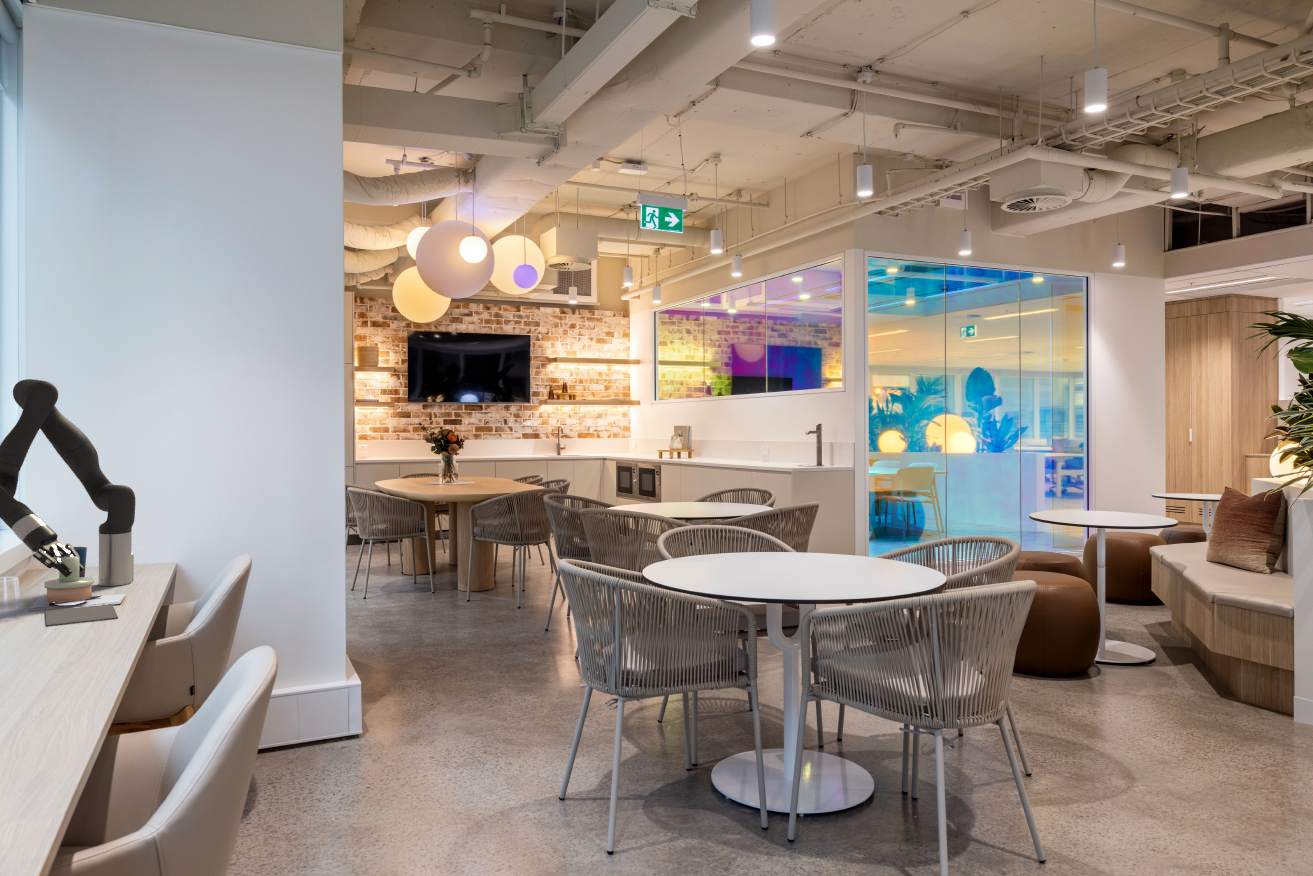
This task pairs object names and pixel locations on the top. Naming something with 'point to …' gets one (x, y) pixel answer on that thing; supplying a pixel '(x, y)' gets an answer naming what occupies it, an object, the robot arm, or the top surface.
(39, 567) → the top surface
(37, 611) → the top surface
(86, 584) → the lid
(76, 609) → the mat
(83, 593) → the bowl
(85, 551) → the cup
